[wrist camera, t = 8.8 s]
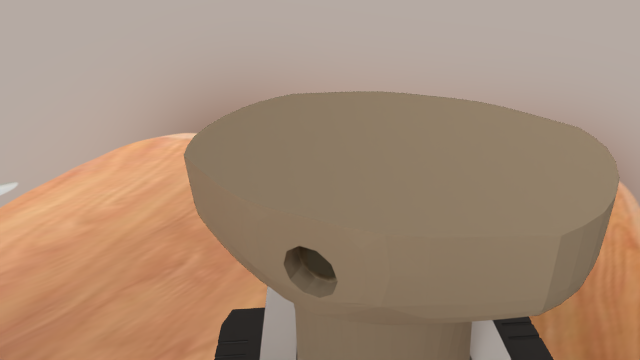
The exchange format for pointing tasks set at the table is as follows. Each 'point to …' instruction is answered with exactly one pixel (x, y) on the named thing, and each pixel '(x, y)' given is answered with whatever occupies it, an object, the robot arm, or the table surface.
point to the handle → (403, 215)
